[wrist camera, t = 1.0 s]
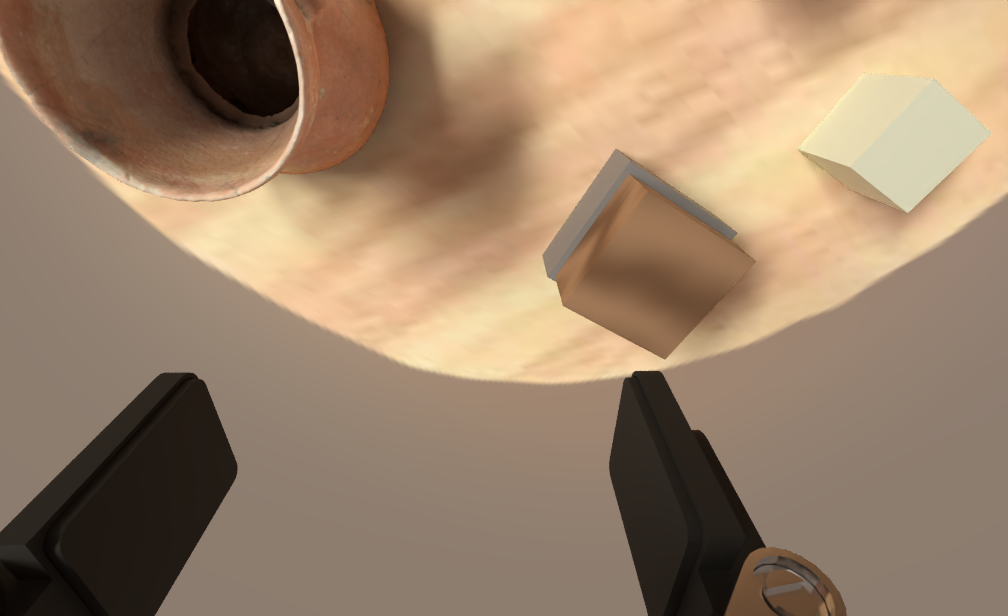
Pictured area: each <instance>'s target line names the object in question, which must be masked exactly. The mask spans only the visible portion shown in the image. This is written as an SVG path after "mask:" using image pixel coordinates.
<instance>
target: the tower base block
mask: <svg viewBox="0 0 1008 616" xmlns="http://www.w3.org/2000/svg"><path fill="white" fill-rule="evenodd" d="M628 174H631V175H632V176H634V177H635V178H637V179H638V180H640V181H642V182H643V183H645V184H646V185H648V186H649V187H651V188H652V189H654V190H655V191H657V192H658V193H660V194H661V195H663V196H665V197H666V198H668V199H669V200H671V201H672V202H674V203H675V204H677V205H678V206H680V207H681V208H683V209H684V210H686V211H688V212H689V213H691V214H692V215H694V216H695V217H697V218H698V219H700V220H701V221H703V222H704V223H706V224H707V225H709V226H711V227H712V228H714V229H715V230H717V231H718V232H720V233H721V234H723V235H724V236H726V237H727V238H728V239H729V240H732V239H733V237H734V236H735V235H736V234H737V232H736V231H734V230H733V229H732V228H730V227H729V226H728V225H727V224H725V223H724V222H723V221H721V220H720V219H719V218H717V217H716V216H715V215H714V214H712V213H711V212H709V211H708V210H706V209H705V208H703V207H702V206H700V205H699V204H697V203H696V202H694V201H693V200H691V199H690V198H688V197H687V196H685V195H684V194H682V193H681V192H679V191H678V190H676V189H675V188H673V187H672V186H670V185H669V184H667V183H666V182H665V181H663V180H662V179H660V178H659V177H657V176H656V175H654V174H653V173H651V172H650V171H648V170H647V169H645V168H644V167H642V166H641V165H639V164H638V163H636V162H635V161H633V160H632V159H630V158H629V157H627V156H626V155H624V154H623V153H621V152H620V151H618V150H617V149H615V151H614V152H613V154H612V155H611V157H610V158H609V159H608V161H607V162H606V164H605V165H604V167H603V168H602V170H601V171H600V172H599V174H598V175H597V177H596V178H595V180H594V181H593V183H592V184H591V186H590V187H589V188H588V190H587V191H586V193H585V194H584V196H583V197H582V199H581V200H580V201H579V203H578V204H577V206H576V207H575V209H574V210H573V212H572V213H571V214H570V216H569V217H568V219H567V220H566V222H565V223H564V225H563V226H562V228H561V229H560V230H559V232H558V233H557V235H556V236H555V238H554V239H553V241H552V242H551V243H550V245H549V246H548V248H547V249H546V251H545V252H544V254H543V260H544V264H545V268H546V272H547V277H549V278H551V279H552V280H554V281H556V278H555V276H556V275H557V273H558V272H559V271H560V269H561V268H562V266H563V265H564V264H565V262H566V261H567V259H568V258H569V257H570V255H571V254H572V252H573V251H574V250H575V248H576V247H577V245H578V244H579V243H580V241H581V240H582V238H583V237H584V235H585V234H586V233H587V231H588V230H589V228H590V227H591V226H592V224H593V223H594V221H595V220H596V219H597V217H598V216H599V214H600V213H601V212H602V210H603V209H604V207H605V206H606V205H607V203H608V202H609V200H610V199H611V198H612V196H613V195H614V193H615V192H616V191H617V189H618V188H619V186H620V185H621V184H622V182H623V181H624V179H625V178H626V177H627V175H628Z"/></svg>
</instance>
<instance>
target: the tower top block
mask: <svg viewBox="0 0 1008 616" xmlns="http://www.w3.org/2000/svg"><path fill="white" fill-rule="evenodd" d="M755 262H756V261H755V260H754V259H753V258H751V257H750V256H749V255H748V254H746V253H745V252H744V251H743V250H742V249H740V248H739V247H738V246H737V245H736V244H734V243H733V242H732V241H731V240H729V239H728V238H727V237H726V236H724V235H723V234H721V233H720V232H718V231H717V230H715V229H714V228H712V227H711V226H709V225H707V224H706V223H704V222H703V221H701V220H700V219H698V218H697V217H695V216H694V215H692V214H691V213H689V212H688V211H686V210H684V209H683V208H681V207H680V206H678V205H677V204H675V203H674V202H672V201H671V200H669V199H668V198H666V197H665V196H663V195H661V194H660V193H658V192H657V191H655V190H654V189H652V188H651V187H649V186H648V185H646V184H645V183H643V182H642V181H640V180H638V179H637V178H635V177H634V176H632V175H631V174H628V175H627V177H626V178H625V179H624V181H623V182H622V184H621V185H620V186H619V188H618V189H617V191H616V192H615V193H614V195H613V196H612V198H611V199H610V200H609V202H608V203H607V205H606V206H605V207H604V209H603V210H602V212H601V213H600V214H599V216H598V217H597V219H596V220H595V221H594V223H593V224H592V226H591V227H590V228H589V230H588V231H587V233H586V234H585V235H584V237H583V238H582V240H581V241H580V243H579V244H578V245H577V247H576V248H575V250H574V251H573V252H572V254H571V255H570V257H569V258H568V259H567V261H566V262H565V264H564V265H563V266H562V268H561V269H560V271H559V272H558V273H557V275H556V276H555V278H556V282H557V285H558V289H559V293H560V296H561V300H562V304H563V306H564V307H566V308H568V309H570V310H572V311H574V312H576V313H578V314H579V315H581V316H583V317H585V318H587V319H589V320H591V321H593V322H595V323H597V324H598V325H600V326H602V327H604V328H606V329H608V330H610V331H612V332H614V333H616V334H617V335H619V336H621V337H623V338H625V339H627V340H629V341H631V342H633V343H634V344H636V345H638V346H640V347H642V348H644V349H646V350H648V351H650V352H652V353H653V354H655V355H657V356H659V357H661V358H663V359H666V358H667V357H668V356H669V355H670V354H671V352H672V351H673V350H674V349H675V348H676V347H677V346H678V345H679V344H680V343H681V342H682V341H683V340H684V338H685V337H686V336H687V335H688V334H689V333H690V332H691V331H692V330H693V329H694V328H695V327H696V326H697V325H698V323H699V322H700V321H701V320H702V319H703V318H704V317H705V316H706V315H707V314H708V313H709V312H710V311H711V309H712V308H713V307H714V306H715V305H716V304H717V303H718V302H719V301H720V300H721V299H722V298H723V297H724V295H725V294H726V293H727V292H728V291H729V290H730V289H731V288H732V287H733V286H734V285H735V284H736V283H737V282H738V280H739V279H740V278H741V277H742V276H743V275H744V274H745V273H746V272H747V271H748V270H749V269H750V268H751V266H752V265H753V264H754V263H755Z"/></svg>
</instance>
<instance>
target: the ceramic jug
mask: <svg viewBox="0 0 1008 616" xmlns="http://www.w3.org/2000/svg"><path fill="white" fill-rule="evenodd" d="M0 52H1V55H2V57H3V60H4V62H5V64H6V66H7V67H8V69H9V70H10V72H11V74H12V76H13V77H14V79H15V81H16V83H17V84H18V85H19V86H20V87H21V89H22V90H23V91H24V92H25V93H26V94H27V95H28V97H29V98H30V101H31V103H32V106H33V108H34V109H35V111H36V112H37V113H38V114H39V115H40V116H41V118H42V119H43V120H44V121H45V122H46V123H47V125H48V126H49V127H50V128H51V129H52V130H53V131H54V132H55V133H56V134H57V135H58V136H59V137H60V138H61V140H63V141H64V142H65V143H66V144H67V145H68V146H69V147H70V148H71V149H73V150H74V151H75V152H76V153H78V154H79V155H80V156H82V157H83V158H85V159H86V160H88V161H89V162H91V163H92V164H94V165H95V166H97V167H98V168H100V169H101V170H103V171H104V172H106V173H107V174H109V175H110V176H112V177H114V178H115V179H117V180H119V181H120V182H122V183H125V184H126V185H129V186H131V187H133V188H136V189H139V190H141V191H143V192H147V193H151V194H154V195H157V196H160V197H164V198H170V199H174V200H179V201H192V202H198V201H219V200H225V199H230V198H234V197H237V196H240V195H243V194H246V193H248V192H251V191H253V190H255V189H257V188H259V187H261V186H262V185H264V184H265V183H267V182H268V181H270V180H271V179H272V178H274V177H275V176H276V175H277V174H278V173H284V174H303V173H311V172H316V171H320V170H324V169H327V168H330V167H332V166H334V165H337V164H339V163H340V162H342V161H344V160H346V159H347V158H349V157H350V156H351V155H353V154H354V153H355V152H356V151H358V150H359V149H360V148H361V147H362V146H363V145H364V144H365V142H366V141H367V140H368V138H369V137H370V136H371V134H372V133H373V131H374V129H375V127H376V125H377V123H378V121H379V118H380V117H381V114H382V112H383V110H384V107H385V103H386V100H387V95H388V88H389V78H390V66H389V54H388V47H387V42H386V38H385V33H384V30H383V26H382V23H381V20H380V17H379V14H378V12H377V9H376V6H375V2H374V0H0Z"/></svg>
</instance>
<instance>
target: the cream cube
mask: <svg viewBox="0 0 1008 616" xmlns="http://www.w3.org/2000/svg"><path fill="white" fill-rule="evenodd" d="M991 134H992V133H991V132H990V131H989V130H988V129H987V128H986V127H985V126H984V125H983V124H982V123H981V122H980V121H979V120H978V119H977V118H975V117H974V116H973V115H972V114H971V113H970V112H969V111H968V110H967V109H966V108H965V107H964V106H963V105H962V104H961V103H960V102H959V101H958V100H957V99H956V98H954V97H953V96H952V95H951V94H950V93H949V92H948V91H947V90H946V89H945V88H944V87H943V86H942V85H941V84H940V83H939V82H938V81H937V80H936V79H934V78H926V77H912V76H899V75H886V74H872V73H863V75H862V76H861V77H860V78H859V79H858V80H857V81H856V83H855V84H854V85H853V86H852V87H851V88H850V89H849V91H848V92H847V93H846V94H845V95H844V96H843V97H842V99H841V100H840V101H839V102H838V103H837V104H836V105H835V107H834V108H833V109H832V110H831V111H830V112H829V114H828V115H827V116H826V117H825V118H824V119H823V120H822V122H821V123H820V124H819V125H818V126H817V127H816V128H815V130H814V131H813V132H812V133H811V134H810V135H809V136H808V138H807V139H806V140H805V141H804V142H803V143H802V144H801V146H800V147H799V148H798V150H799V151H800V152H802V153H803V154H804V155H805V156H807V157H808V158H809V159H811V160H812V161H813V162H814V163H816V164H817V165H818V166H820V167H821V168H822V169H823V170H825V171H826V172H827V173H829V174H830V175H831V176H832V177H834V178H835V179H836V180H838V181H839V182H840V183H841V184H843V185H844V186H845V187H847V188H848V189H849V190H852V191H854V192H857V193H859V194H861V195H864V196H866V197H869V198H871V199H874V200H876V201H879V202H881V203H884V204H886V205H889V206H891V207H894V208H896V209H898V210H901V211H903V212H906V213H909V212H910V211H911V210H912V209H913V208H914V207H915V206H916V205H917V204H918V203H919V202H920V201H921V200H922V199H923V198H924V197H925V196H926V195H927V194H929V193H930V192H931V191H932V190H933V189H934V188H935V187H936V186H937V185H938V184H939V183H940V182H941V181H942V180H943V179H944V178H945V177H946V176H947V175H948V174H950V173H951V172H952V171H953V170H954V169H955V168H956V167H957V166H958V165H959V164H960V163H961V162H962V161H963V160H964V159H965V158H966V157H967V156H968V155H970V154H971V153H972V152H973V151H974V150H975V149H976V148H977V147H978V146H979V145H980V144H981V143H982V142H983V141H984V140H985V139H986V138H987V137H988V136H990V135H991Z"/></svg>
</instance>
